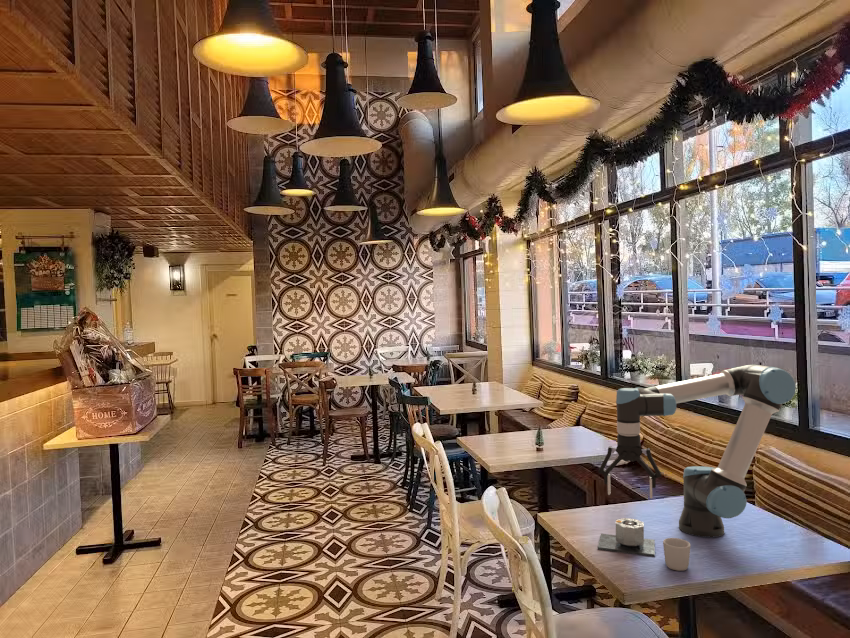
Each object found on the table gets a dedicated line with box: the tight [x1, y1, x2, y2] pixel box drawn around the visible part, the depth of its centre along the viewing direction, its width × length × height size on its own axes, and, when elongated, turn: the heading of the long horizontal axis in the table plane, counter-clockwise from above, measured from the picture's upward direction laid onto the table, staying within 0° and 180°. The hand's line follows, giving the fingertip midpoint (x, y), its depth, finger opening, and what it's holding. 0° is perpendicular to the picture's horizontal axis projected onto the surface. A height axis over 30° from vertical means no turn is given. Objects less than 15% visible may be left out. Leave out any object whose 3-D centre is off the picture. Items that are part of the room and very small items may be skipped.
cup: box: [662, 537, 692, 572], centre depth 188 cm, size 11×8×8 cm
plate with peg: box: [597, 521, 656, 558], centre depth 204 cm, size 18×13×8 cm
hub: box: [615, 517, 645, 546], centre depth 204 cm, size 9×9×6 cm
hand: (629, 495), depth 203 cm, fingers open, 13 cm apart
